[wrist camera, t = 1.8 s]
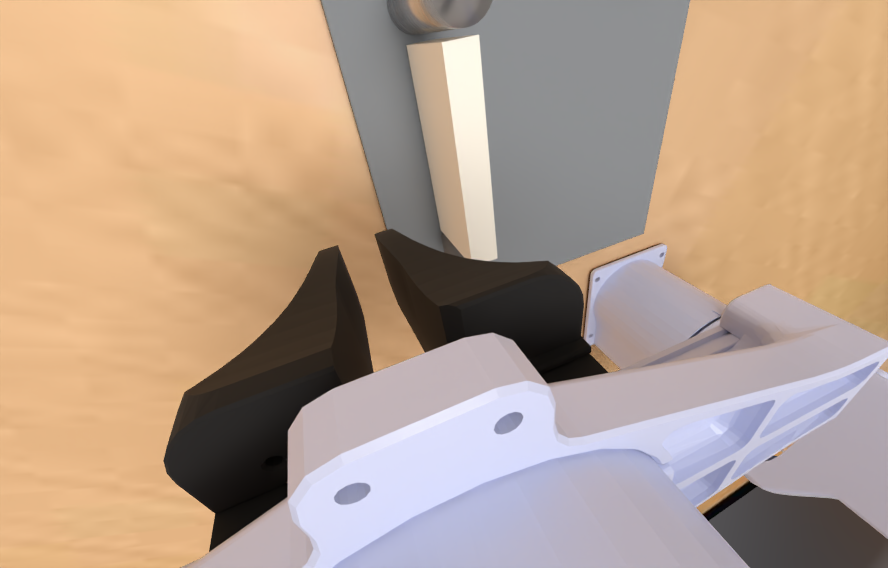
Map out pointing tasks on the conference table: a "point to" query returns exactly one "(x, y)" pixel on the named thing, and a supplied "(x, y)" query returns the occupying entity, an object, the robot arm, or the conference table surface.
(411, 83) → the mat
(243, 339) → the conference table surface
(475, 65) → the block
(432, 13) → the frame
